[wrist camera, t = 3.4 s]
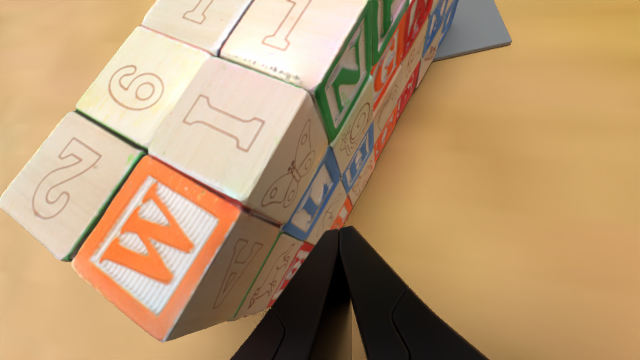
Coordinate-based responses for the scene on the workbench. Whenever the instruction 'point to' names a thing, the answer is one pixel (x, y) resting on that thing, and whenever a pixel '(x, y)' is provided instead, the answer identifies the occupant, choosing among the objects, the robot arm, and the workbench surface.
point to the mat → (473, 30)
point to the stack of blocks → (223, 150)
